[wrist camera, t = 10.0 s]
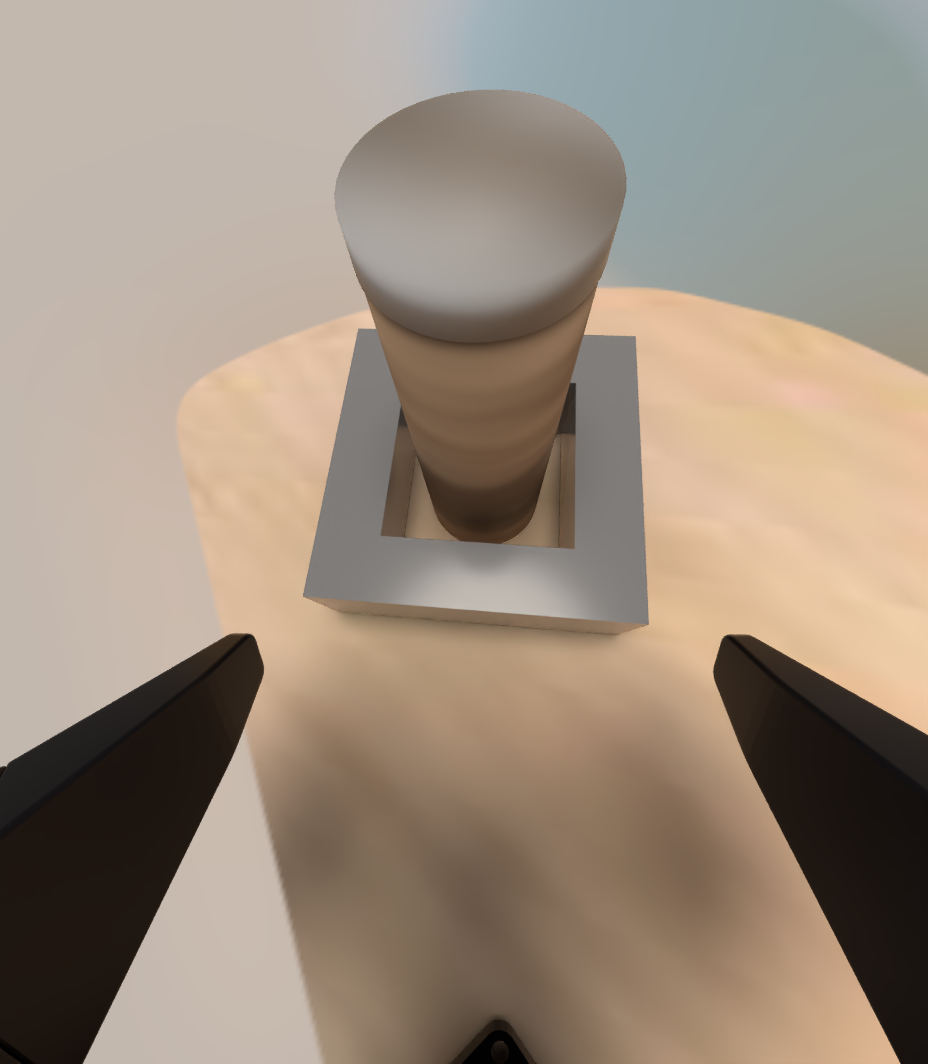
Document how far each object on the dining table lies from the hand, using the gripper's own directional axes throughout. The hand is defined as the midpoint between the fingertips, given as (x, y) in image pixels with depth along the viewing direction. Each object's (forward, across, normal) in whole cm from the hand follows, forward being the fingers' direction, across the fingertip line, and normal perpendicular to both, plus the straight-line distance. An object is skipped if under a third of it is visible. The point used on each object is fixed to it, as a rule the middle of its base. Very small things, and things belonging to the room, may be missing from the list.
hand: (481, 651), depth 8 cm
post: (+11, 0, +1) cm, 11 cm away
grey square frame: (+11, 0, +1) cm, 11 cm away
